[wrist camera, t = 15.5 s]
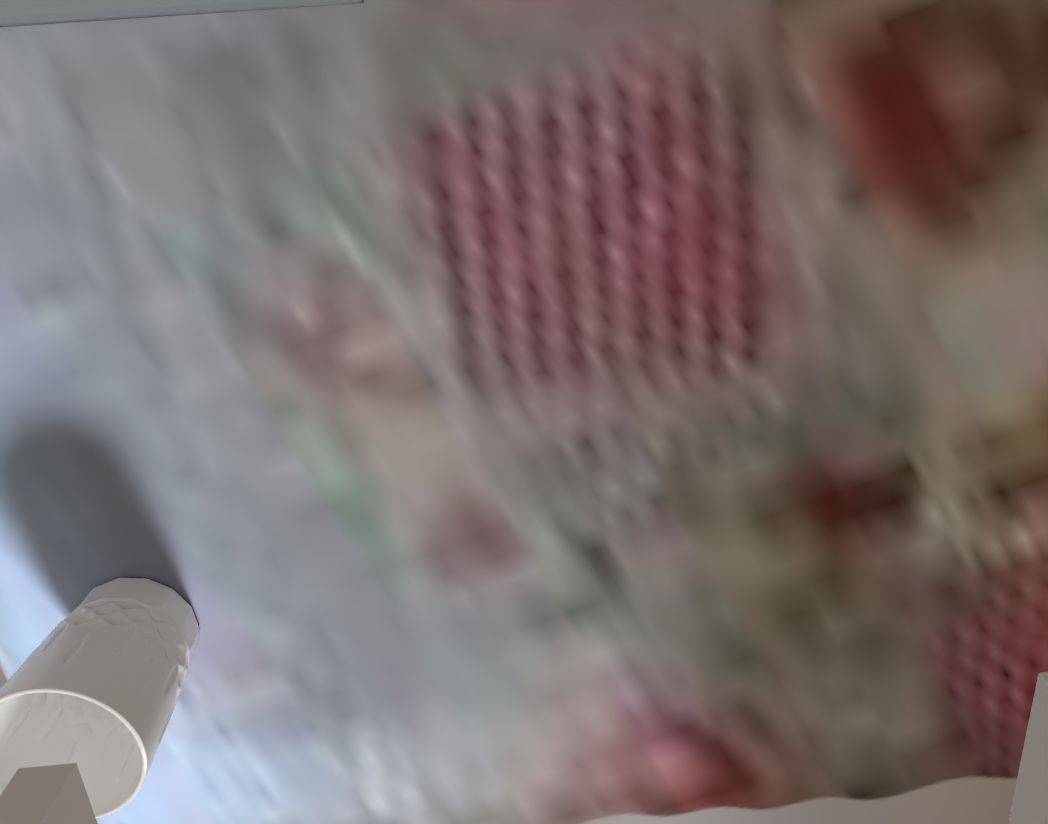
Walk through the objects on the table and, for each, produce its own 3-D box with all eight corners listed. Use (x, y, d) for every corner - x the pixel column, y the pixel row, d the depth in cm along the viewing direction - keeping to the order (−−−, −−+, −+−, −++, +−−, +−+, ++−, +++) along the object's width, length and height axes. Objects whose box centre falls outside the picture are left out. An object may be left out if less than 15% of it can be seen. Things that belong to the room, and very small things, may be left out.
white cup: (46, 579, 46) (-64, 705, 36) (185, 555, 45) (112, 675, 36) (96, 692, 48) (7, 835, 39) (228, 669, 48) (169, 807, 39)
